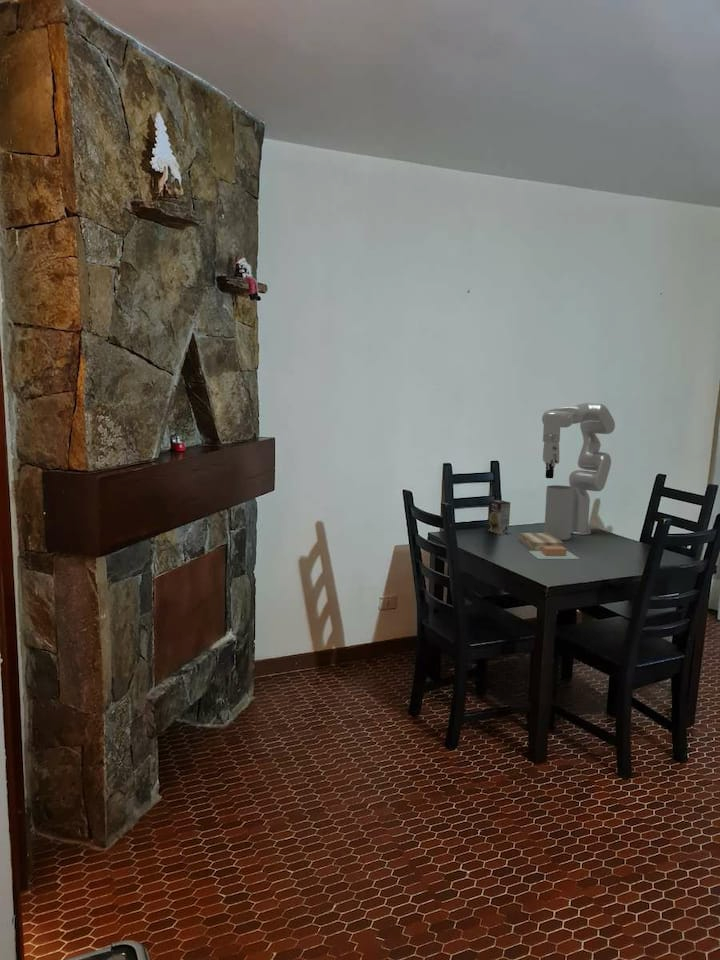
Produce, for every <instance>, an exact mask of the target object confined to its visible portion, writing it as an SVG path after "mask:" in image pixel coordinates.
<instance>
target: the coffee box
mask: <svg viewBox="0 0 720 960" xmlns="http://www.w3.org/2000/svg"><path fill="white" fill-rule="evenodd" d="M488 507H489V508H488V526H487V528H488V529H487V530H488V532H489V531H491V532H490V533H492V532H494V533H493V534H495V533H497V534H496V535H499V534H502V535H505V534H504V533H510V515H511V513H510V512H511V502H510V501H505V500H501V499H490V500H489V506H488Z"/></svg>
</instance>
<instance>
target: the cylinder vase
mask: <svg viewBox="0 0 720 960" xmlns="http://www.w3.org/2000/svg"><path fill="white" fill-rule="evenodd" d="M573 489H574V488H573V487H570V485H560V484H559V485H557V484H555V485H547V486H546V490H545V491H546V492H545V514H544V532H543V533H549V534H551V535H553V536H554V537H556V538H557V539H559V540H560V541H569V540H571V537H572V534H571V523H572V506H573Z"/></svg>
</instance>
